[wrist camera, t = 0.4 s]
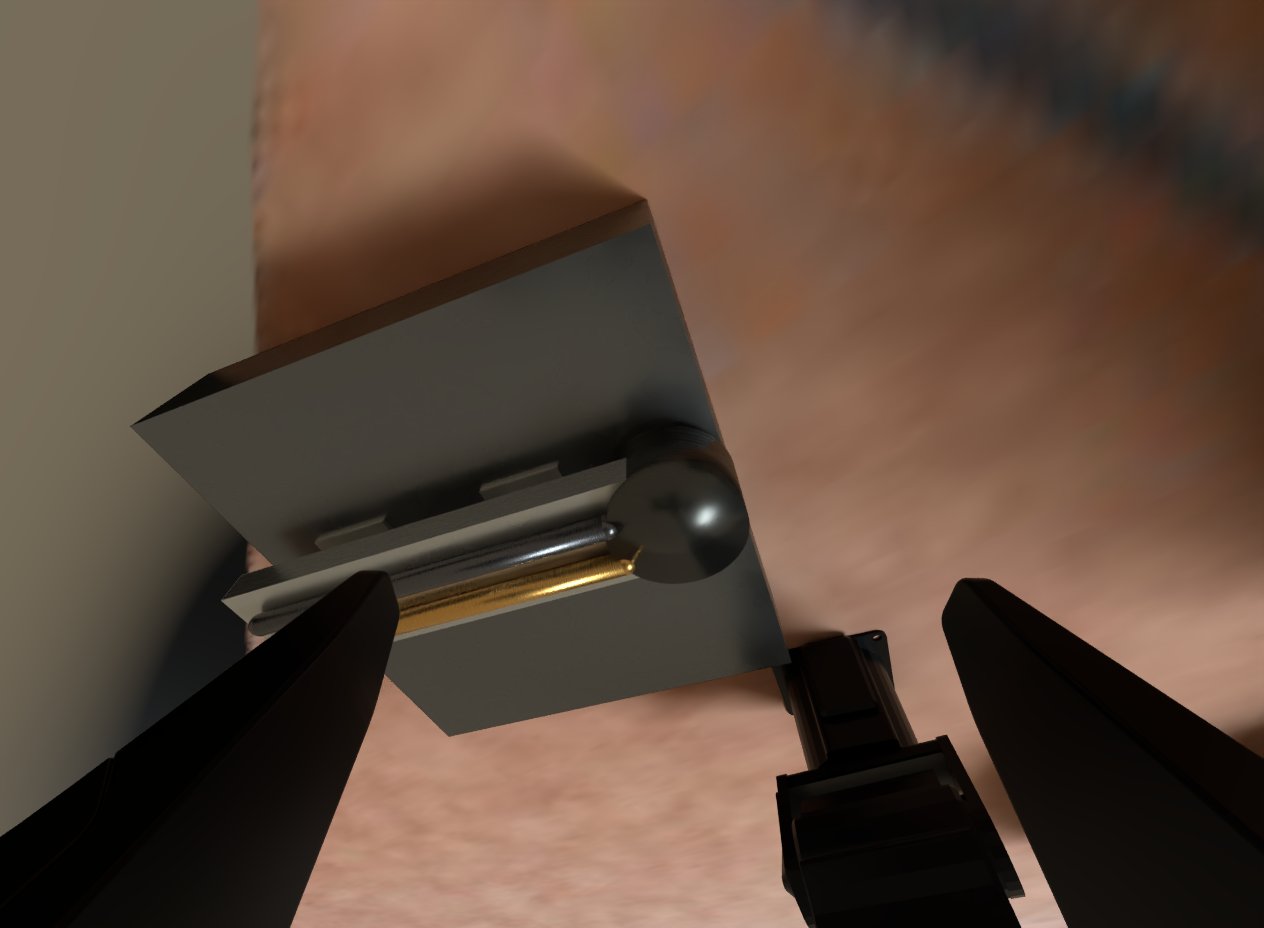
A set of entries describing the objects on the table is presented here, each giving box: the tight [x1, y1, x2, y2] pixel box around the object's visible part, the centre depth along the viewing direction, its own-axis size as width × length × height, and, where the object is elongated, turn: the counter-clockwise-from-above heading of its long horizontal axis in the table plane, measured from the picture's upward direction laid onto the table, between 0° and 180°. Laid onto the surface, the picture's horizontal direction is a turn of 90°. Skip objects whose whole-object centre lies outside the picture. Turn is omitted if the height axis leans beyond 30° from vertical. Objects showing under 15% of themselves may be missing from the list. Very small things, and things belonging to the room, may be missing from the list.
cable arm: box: [221, 426, 750, 642], centre depth 19 cm, size 4×18×3 cm, turn 110°
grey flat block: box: [130, 199, 791, 737], centre depth 23 cm, size 20×18×4 cm
